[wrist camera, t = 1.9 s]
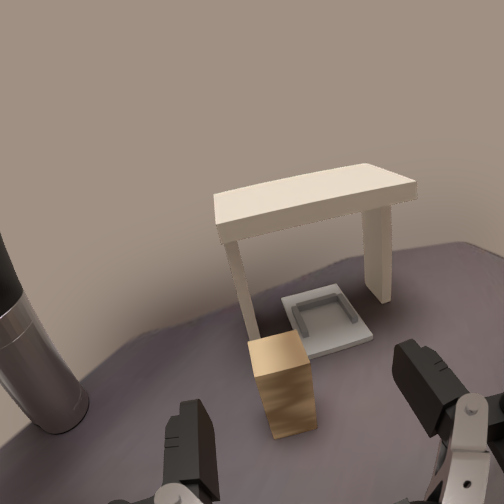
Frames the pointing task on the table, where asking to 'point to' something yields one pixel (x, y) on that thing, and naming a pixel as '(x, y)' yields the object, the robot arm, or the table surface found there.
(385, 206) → the bench shelf
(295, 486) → the table surface
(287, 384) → the birch block
